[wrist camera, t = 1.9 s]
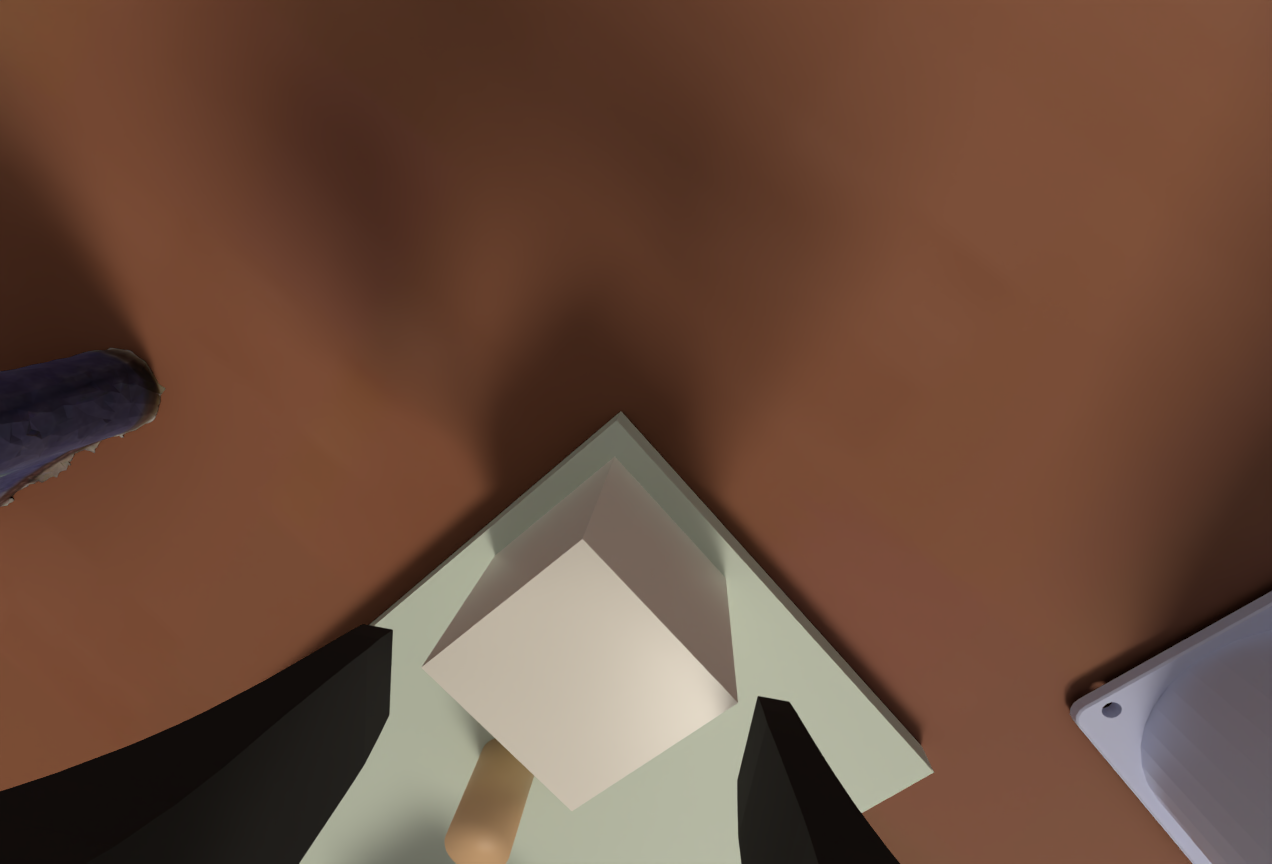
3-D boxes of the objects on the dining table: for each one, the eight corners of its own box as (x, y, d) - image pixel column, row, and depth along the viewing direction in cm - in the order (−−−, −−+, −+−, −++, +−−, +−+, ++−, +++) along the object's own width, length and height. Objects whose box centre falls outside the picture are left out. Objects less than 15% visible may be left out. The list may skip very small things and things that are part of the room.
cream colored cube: (614, 456, 17) (582, 538, 12) (725, 578, 17) (737, 702, 12) (494, 555, 18) (421, 667, 13) (603, 666, 18) (572, 811, 14)
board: (621, 410, 17) (600, 455, 13) (922, 746, 19) (978, 868, 16) (203, 765, 22) (101, 872, 18) (479, 1002, 24) (438, 1143, 20)
